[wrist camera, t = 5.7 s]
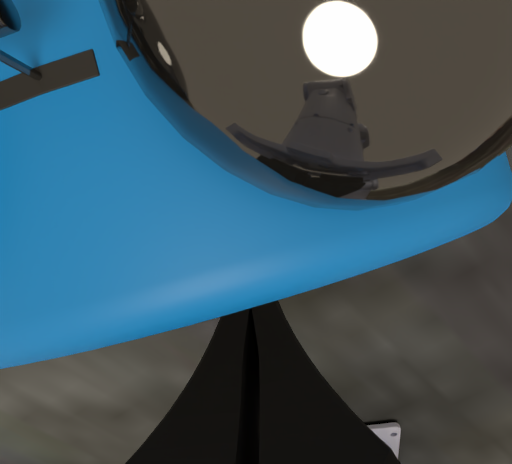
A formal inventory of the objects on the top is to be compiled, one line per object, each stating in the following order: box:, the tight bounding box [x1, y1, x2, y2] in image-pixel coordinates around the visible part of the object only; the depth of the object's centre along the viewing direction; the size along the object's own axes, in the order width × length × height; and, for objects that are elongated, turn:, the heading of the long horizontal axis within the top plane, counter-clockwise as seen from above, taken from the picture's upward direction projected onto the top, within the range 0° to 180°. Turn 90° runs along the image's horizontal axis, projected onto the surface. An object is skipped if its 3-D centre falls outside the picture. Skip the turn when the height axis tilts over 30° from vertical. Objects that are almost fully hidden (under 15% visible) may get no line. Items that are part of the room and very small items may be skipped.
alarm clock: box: [0, 0, 512, 369], centre depth 10 cm, size 13×6×15 cm
